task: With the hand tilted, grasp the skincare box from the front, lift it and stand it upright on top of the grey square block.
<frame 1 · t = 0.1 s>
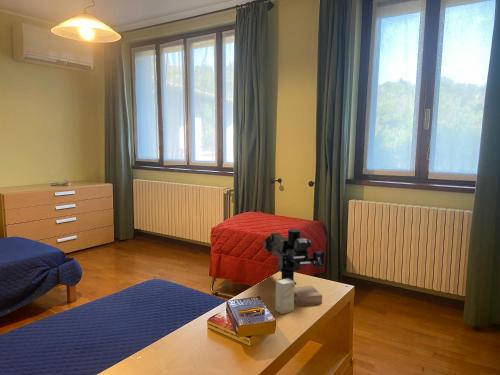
hand: (310, 267, 150), 17 cm above the table, tool horizontal, fingers open, 9 cm apart
grey square block: (305, 300, 159), on the table
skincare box: (284, 310, 149), on the table
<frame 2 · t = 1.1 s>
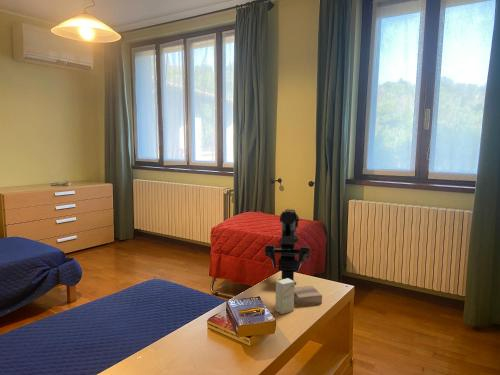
hand: (286, 270, 155), 14 cm above the table, tool tilted 45°, fingers open, 9 cm apart
nothing on the table moved.
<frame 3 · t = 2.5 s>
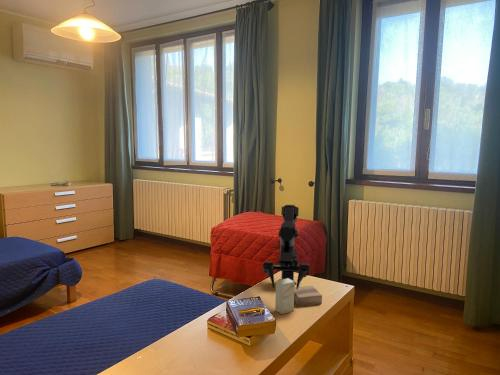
hand: (285, 288, 149), 9 cm above the table, tool tilted 45°, fingers open, 9 cm apart
nothing on the table moved.
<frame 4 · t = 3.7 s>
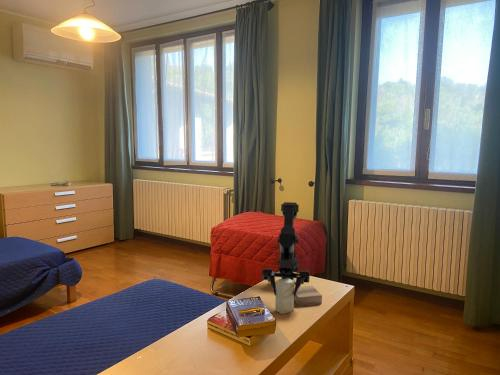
hand: (284, 295, 147), 7 cm above the table, tool tilted 45°, fingers closed on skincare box, 7 cm apart
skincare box: (284, 310, 149), on the table, touching gripper
everything else where it was.
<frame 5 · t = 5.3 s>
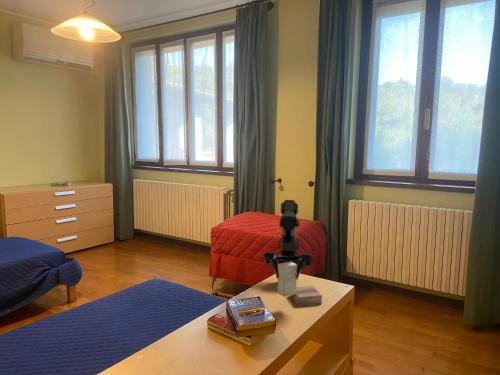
hand: (287, 278, 147), 13 cm above the table, tool tilted 45°, fingers closed on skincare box, 7 cm apart
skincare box: (286, 294, 149), point 6 cm above the table, touching gripper
everything else where it was.
when the fingers open (12 cm above the table, at t = 6.9 s): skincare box drops 2 cm, resting on grey square block.
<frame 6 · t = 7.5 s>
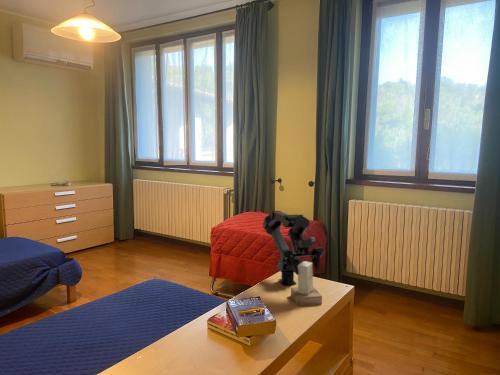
hand: (308, 273, 156), 12 cm above the table, tool tilted 45°, fingers open, 9 cm apart
grey square block: (305, 301, 159), on the table, touching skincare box
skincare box: (305, 291, 159), point 3 cm above the table, touching grey square block
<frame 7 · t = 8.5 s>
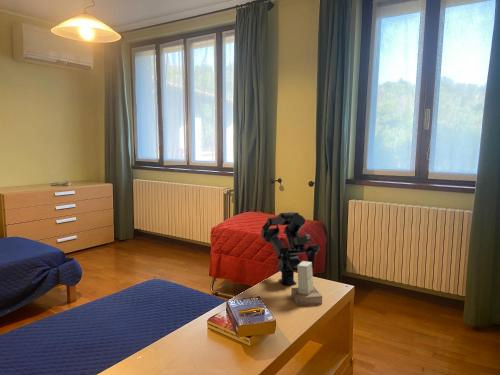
hand: (303, 269, 160), 12 cm above the table, tool tilted 45°, fingers open, 9 cm apart
nothing on the table moved.
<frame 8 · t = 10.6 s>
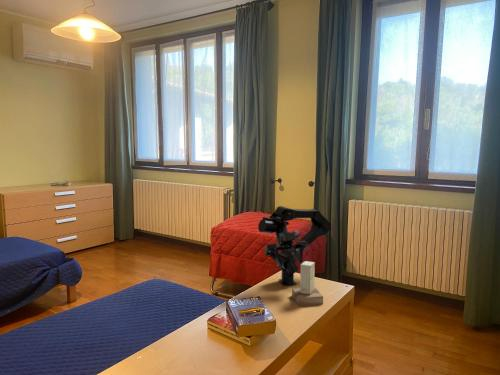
hand: (291, 265, 160), 14 cm above the table, tool tilted 45°, fingers open, 9 cm apart
at the end: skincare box 0.2 cm from the grey square block (horizontally); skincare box point 3.4 cm above the table; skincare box tilted 3° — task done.
